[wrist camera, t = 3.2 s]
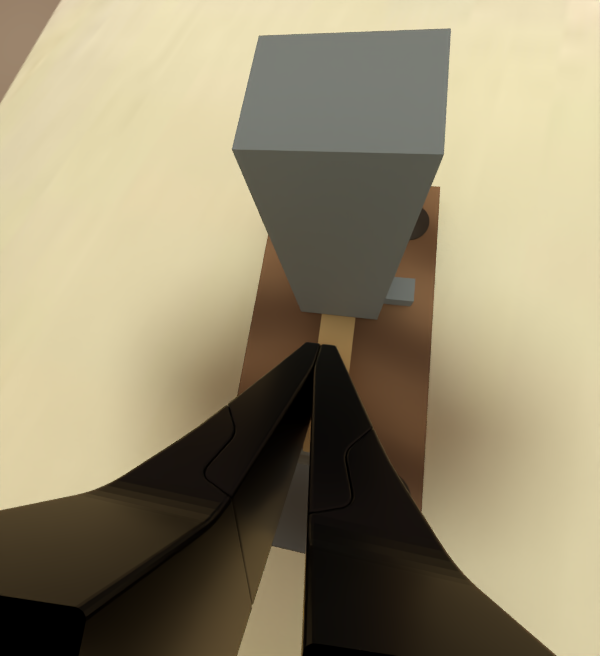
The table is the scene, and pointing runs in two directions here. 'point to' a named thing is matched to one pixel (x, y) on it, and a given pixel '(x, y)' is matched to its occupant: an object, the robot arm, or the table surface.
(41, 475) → the table surface
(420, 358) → the hole plate
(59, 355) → the table surface
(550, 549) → the table surface
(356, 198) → the block
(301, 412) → the robot arm
